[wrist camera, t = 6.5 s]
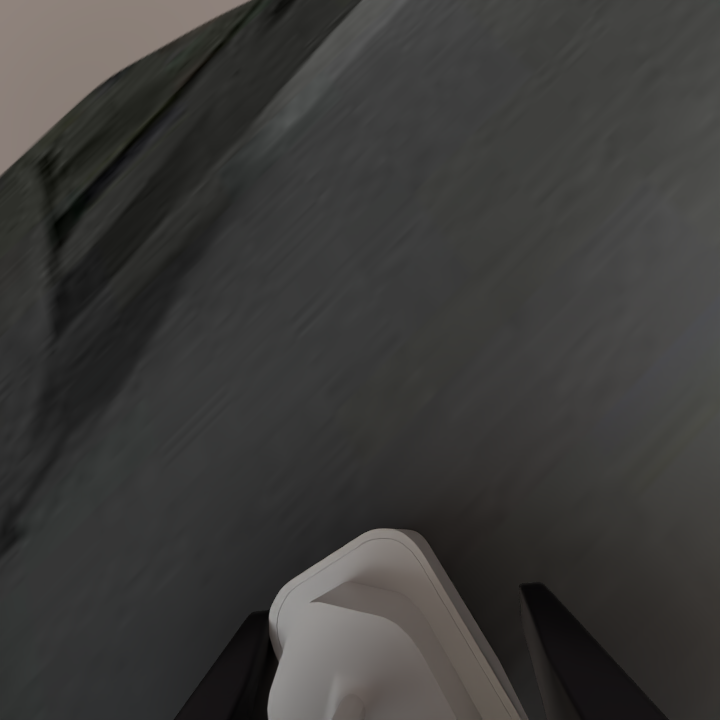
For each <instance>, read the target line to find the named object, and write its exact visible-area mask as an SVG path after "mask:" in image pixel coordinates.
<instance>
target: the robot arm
mask: <svg viewBox="0 0 720 720" xmlns="http://www.w3.org/2000/svg"><path fill="white" fill-rule="evenodd" d="M519 603H520V616H521V622H522V627H523V631H524V634H525V638H526V642H527V646H528V649H529V653H530V657H531V661H532V664H533V668H534V672H535V676H536V679H537V683H538V687H539V691H540V694H541V698H542V702H543V706H544V710H545V713H546V716H547V720H669V719H668V718H667V717H666V716H665V715H664V714H663V713H662V712H661V711H660V709H659V708H658V707H657V706H656V705H655V704H654V703H653V702H652V701H651V700H650V699H649V697H648V696H647V695H646V694H645V693H644V692H643V691H642V690H641V689H640V688H639V687H638V686H637V684H636V683H635V682H634V681H633V680H632V679H631V678H630V677H629V676H628V675H627V674H626V672H625V671H624V670H623V669H622V668H621V667H620V666H619V665H618V664H617V663H616V662H615V661H614V659H613V658H612V657H611V656H610V655H609V654H608V653H607V652H606V651H605V650H604V649H603V647H602V646H601V645H600V644H599V643H598V642H597V641H596V640H595V639H594V638H593V637H592V636H591V634H590V633H589V632H588V631H587V630H586V629H585V628H584V627H583V626H582V625H581V624H580V622H579V621H578V620H577V619H576V618H575V617H574V616H573V615H572V614H571V613H570V612H569V611H568V609H567V608H566V607H565V606H564V605H563V604H562V603H561V602H560V601H559V600H558V599H557V597H556V596H555V595H554V594H553V593H552V592H551V591H550V590H549V589H548V588H547V587H546V586H545V585H544V584H543V583H541V582H532V583H522V584H520V585H519ZM269 614H270V610H266V611H256V612H253V613H251V614H250V615H249V616H248V617H247V618H246V620H245V621H244V623H243V624H242V625H241V627H240V628H239V630H238V631H237V632H236V634H235V635H234V637H233V638H232V639H231V641H230V642H229V643H228V645H227V646H226V648H225V649H224V650H223V652H222V653H221V655H220V656H219V657H218V659H217V660H216V662H215V663H214V664H213V666H212V667H211V668H210V670H209V671H208V673H207V674H206V675H205V677H204V678H203V680H202V681H201V682H200V684H199V685H198V687H197V688H196V689H195V691H194V692H193V694H192V695H191V696H190V698H189V699H188V700H187V702H186V703H185V705H184V706H183V707H182V709H181V710H180V712H179V713H178V714H177V716H176V717H175V719H174V720H268V711H267V708H268V700H269V693H270V690H271V687H272V683H273V680H274V677H275V674H276V671H277V668H278V665H279V662H278V659H277V657H276V655H275V652H274V650H273V646H272V643H271V640H270V636H269Z"/></svg>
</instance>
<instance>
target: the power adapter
mask: <svg viewBox="0 0 720 720" xmlns="http://www.w3.org/2000/svg"><path fill="white" fill-rule="evenodd" d="M269 636H270V640H271V643H272V646H273V650H274V652H275V655H276V657H277V659H278V662H279V665H278V668H277V671H276V674H275V677H274V680H273V683H272V687H271V690H270V693H269V700H268V708H267V711H268V720H529V719H528V717H527V715H526V713H525V711H524V709H523V707H522V705H521V703H520V701H519V699H518V697H517V695H516V693H515V691H514V689H513V687H512V685H511V683H510V681H509V679H508V677H507V675H506V673H505V671H504V669H503V667H502V665H501V663H500V661H499V659H498V658H497V656H496V654H495V653H494V651H493V649H492V648H491V646H490V645H489V643H488V641H487V640H486V638H485V636H484V635H483V633H482V631H481V630H480V628H479V626H478V625H477V623H476V621H475V620H474V618H473V616H472V615H471V613H470V612H469V610H468V608H467V607H466V605H465V603H464V602H463V600H462V598H461V597H460V595H459V593H458V592H457V590H456V588H455V587H454V585H453V583H452V582H451V580H450V578H449V577H448V575H447V574H446V572H445V570H444V569H443V567H442V565H441V564H440V562H439V560H438V559H437V557H436V555H435V554H434V552H433V550H432V549H431V547H430V545H429V544H428V542H427V541H426V540H425V538H424V537H423V536H422V535H420V534H419V533H418V532H416V531H413V530H406V529H375V530H370V531H368V532H366V533H363V534H362V535H360V536H359V537H357V538H356V539H354V540H353V541H351V542H349V543H348V544H346V545H345V546H343V547H342V548H340V549H339V550H337V551H335V552H334V553H332V554H331V555H329V556H328V557H326V558H325V559H323V560H322V561H320V562H318V563H317V564H315V565H314V566H312V567H311V568H309V569H308V570H306V571H305V572H303V573H301V574H300V575H298V576H297V577H295V578H294V579H292V580H291V581H289V582H288V583H287V584H286V585H285V586H284V587H283V588H282V589H281V590H280V592H279V593H278V594H277V596H276V598H275V600H274V602H273V604H272V607H271V609H270V614H269Z"/></svg>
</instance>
